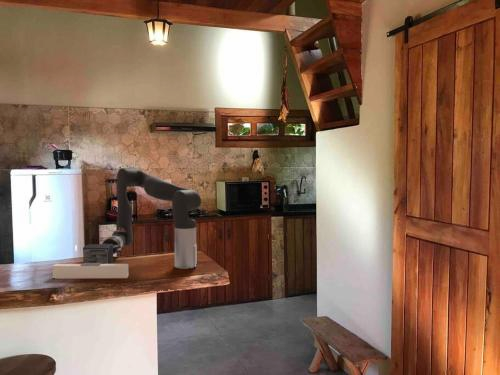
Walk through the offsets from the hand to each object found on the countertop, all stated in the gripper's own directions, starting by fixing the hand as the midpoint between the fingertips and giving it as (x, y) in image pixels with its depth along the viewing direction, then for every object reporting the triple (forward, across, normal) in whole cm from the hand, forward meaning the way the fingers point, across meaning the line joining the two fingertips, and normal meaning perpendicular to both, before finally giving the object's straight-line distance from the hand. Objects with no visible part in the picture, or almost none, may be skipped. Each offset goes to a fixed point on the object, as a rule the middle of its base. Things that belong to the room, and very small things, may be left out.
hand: (100, 253), depth 165 cm
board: (+12, 0, +7) cm, 14 cm away
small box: (+3, 0, +6) cm, 7 cm away
